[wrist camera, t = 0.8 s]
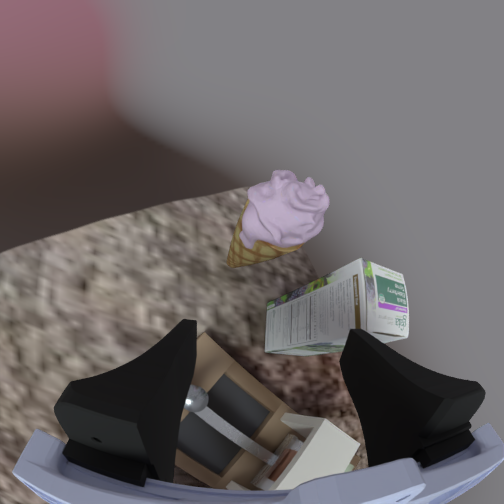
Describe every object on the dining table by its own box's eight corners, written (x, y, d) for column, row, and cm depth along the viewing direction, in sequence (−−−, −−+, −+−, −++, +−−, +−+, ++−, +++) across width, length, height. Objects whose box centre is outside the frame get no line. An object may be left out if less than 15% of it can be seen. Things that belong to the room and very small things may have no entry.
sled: (287, 500, 19) (318, 516, 15) (146, 410, 19) (152, 423, 14) (320, 454, 23) (354, 462, 19) (195, 358, 23) (214, 356, 18)
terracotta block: (292, 490, 19) (315, 501, 16) (266, 477, 19) (289, 489, 16) (312, 462, 22) (337, 470, 19) (289, 448, 22) (313, 456, 18)
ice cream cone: (233, 303, 28) (327, 244, 16) (190, 263, 28) (253, 173, 16) (265, 262, 32) (354, 194, 20) (226, 227, 32) (297, 139, 20)
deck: (306, 525, 19) (312, 528, 18) (119, 418, 18) (118, 421, 17) (354, 456, 26) (361, 458, 25) (201, 333, 26) (205, 331, 24)
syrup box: (306, 310, 32) (404, 269, 20) (305, 358, 29) (412, 337, 18) (265, 302, 30) (361, 251, 18) (262, 354, 27) (369, 333, 16)
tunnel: (267, 506, 18) (302, 528, 13) (225, 486, 18) (255, 512, 13) (319, 437, 25) (360, 444, 19) (285, 412, 24) (325, 418, 19)
